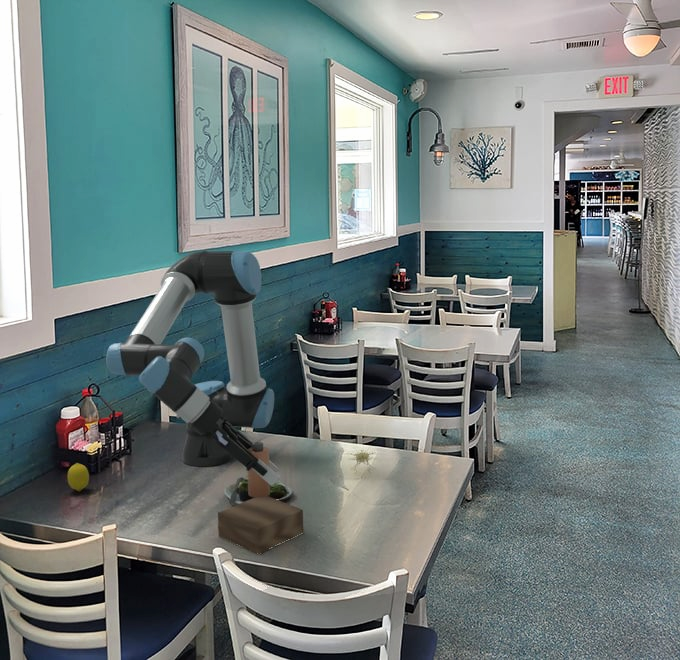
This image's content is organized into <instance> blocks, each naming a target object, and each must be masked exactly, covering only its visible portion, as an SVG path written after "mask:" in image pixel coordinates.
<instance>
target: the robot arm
mask: <svg viewBox="0 0 680 660" xmlns="http://www.w3.org/2000/svg"><path fill="white" fill-rule="evenodd" d="M262 280H263V277H262V270H261V266H260V263H259V261H258V258H257V257H256V256H255V254H253V253H252V252H249V251H241V250H240V251H239V250H226V251H225V250H220V251H219V250H214V251H212V250H211V251H209V250H208V251H207V250H200V251H195V252H191V253H190V254H187V255H186V256H183V257H181V258H180V259H179V260H177V261H176V262H175V263H174V264H172V265H171V266H170V267H169V268H168V269H167V270H166V272H165V274H163V276H162V278H161V280H160V288H159V290H158V291H157V293H156V294H155V296H154V297H153V299H152V300H151V302H150V304H149V305H148V306H147V308H146V309H145V312H143V315H142V316H141V318H140V319H139V321H138V322H137V323H136V325H135V327H134V328H133V330H132V331H131V333H130V334H129V336H128V337H127V339H126V340H125V342H119V343H112V344H111V345H109V347H108V348H107V350H106V351H107V352H106V355H105V362H106V366H107V369H108V371H109V372H110V373H111V374H113V375H118V376H120V375H121V376H127V377H128V376H133V377H134V376H136V377H137V376H138V381H139V382H140V384H141V385H142V386H143V387H145V388H146V389H147V391H148V392H149V394H151V395H153V396H155V398H157V400H159V401H160V402H162V403H163V404H164V405H165V406H166V407H167V408H169V409H170V410H171V411H172V412H173V413H175V414H176V415H175V417H176V419H180V418H181V420H183V421H184V422H185V427H186V437H185V442H184V445H183V449H182V451H181V460H182V462H183V463H184V464H185V465H189V466H194V467H211V466H212V467H213V466H218V465H221V464H225V463H227V462H229V461H231V459H232V458H233V457H234V459H236V460H237V461H238V462H239V463H241V465H243V467H245V468H246V471H247V472H248V471H249V470H250V469H252V470H253V471H255V472H256V473H257V474H258V475H259V476H260V477H262V478H263V479H264V480H265V481H266V482H267V483H269V484H270V485H271V486H272V485H273V484H274V483H275V482H276V481H277V480H280V478H281V476H280V475H279V474H278V473H276V472H277V471H278V470H279V467H278V466H277V465H275V463H273V462H272V461H271V460H270V459H269V467H268V466H267V465H266V464H265V463H264V462H262V461H261V460H260V459H257V458H256V457H255V456H254V455H253V454H252V453H251V452H250V451H249V450H248V449H249V448H252V443H253V441H251V440H250V439H249V438H248V437H247V436H245V435H244V434H243V433H242V432H241V431H239V430H238V429H237V428H251V429H257V428H258V429H262V428H266V427H267V426H268V425H269V424H270V421H271V419H272V416H273V411H274V407H275V406H274V405H275V392H274V390H273V389H272V388H269V387H268V388H267V383H266V379H264V378H262V377H261V373H260V366H259V365H260V364H259V363H260V362H259V356H258V348H257V337H256V331H255V329H256V328H255V321H254V311H253V302H254V301H255V300H256V299H257V294H259V293H260V291H261V290H262V285H263V284H262ZM198 294H213V299H214V302H215V304H216V305H218V306H219V307H220V308H221V309H220V310H221V317H222V325H223V331H224V338H225V346H226V347H225V348H226V356H227V361H228V370H229V378H230V380H229V382H228V383H226V387H225V383H224V382H223V381H220V380H210V381H204V382H199V383H195V384H194V383H193V382H191V379H192V378H193V376H194V375H195V374H196V372H197V370H199V368H200V367H201V365H202V362H203V360H204V358H205V350H204V347H203V346H202V343H200V342H199V341H198V340H197V339H194V338H193V337H183V338H180V339H179V340H177V341H176V342H175V343H174V344H162V343H163V341H164V339H165V338H166V336H167V334H168V333H169V331H170V329H171V328H172V326H173V324H174V322H175V321H176V319H177V318H178V316H179V314H180V313H181V311H182V309H183V308H184V306H185V304H186V302H190V301H191V300H192V299H193V298H194V296H195V295H198Z"/></svg>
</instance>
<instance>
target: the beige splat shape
mask: <svg viewBox="0 0 680 660" xmlns="http://www.w3.org/2000/svg"><path fill="white" fill-rule="evenodd" d="M355 447H357V445H355ZM370 447H372V445H370ZM370 447H367V450H363V449H360V450H358V451H357V452H356V453H354V451H352V453H351V452H350V453H349V452H348V453H346V455H352V456H353V457H352V458H350V459H349V460H355V461H356V463H355V464H354V466H353V467H351V468H350V470H354V471H355V472H354V474H355V473H357V471H358V469H359V466H360V465H361V463H363V465H366V467H368V469H367V470H368V472H370V470H372V468H373V469H374V470H375V469H376V468H375V467H373V466H372V465H370V462H369V461H370V460H372V457H370V455H375V454H376V452H370V453H368V452H367V451H368V450H369V449H370ZM352 448H354V447H353V446H352ZM354 449H355V448H354ZM376 459H378V457H377V458H375V460H376ZM356 467H357V469H356Z"/></svg>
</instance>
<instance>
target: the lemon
mask: <svg viewBox="0 0 680 660" xmlns="http://www.w3.org/2000/svg"><path fill="white" fill-rule="evenodd" d="M89 480H90V474H89V470H88V468H87V467H86V466H85V465H83V464H81V463H79V462H76V463H75V464H73V465H71V467H70V468H69V469H68V471H67V483H68V485H69V487H70V488H71V489H72V490H73V489H74V490H76V491H77V492H81V491H82V490H83V489H85V488H86V487H87V486H88V484H89V482H90V481H89Z"/></svg>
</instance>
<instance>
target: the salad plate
mask: <svg viewBox="0 0 680 660" xmlns="http://www.w3.org/2000/svg"><path fill="white" fill-rule="evenodd" d="M224 494H225V496H226V497H227V498H228V499H229V500H228V504H229V505H230V506H235V505H238V504H240V503H243V502H245V501H248V500H250V499H253V498H255V497H251V496H249V495H248V476H245V478H244V477H241V476H240V477H238V478H237V479H236V483H234V484H231V485H229V486H227V487H226V488H225V489H224ZM268 497H271V498H273V499H279V501H281V502H284V503H286V502H288V501H289V500H290V499H291V498H292V497H293V490H292V489H291V488H290V487H288V485H286V484H285V483H284V482H282V481H281V480H280V479H278V480H277V481H276V482H275V483H274V484H273V485H272V486H271V485H270V494H269V495H268ZM287 500H288V501H287ZM285 501H286V502H285Z"/></svg>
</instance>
